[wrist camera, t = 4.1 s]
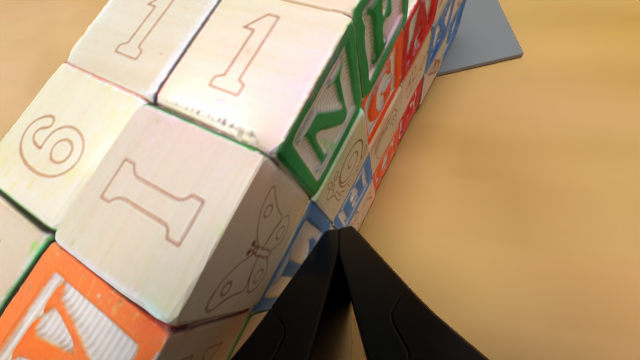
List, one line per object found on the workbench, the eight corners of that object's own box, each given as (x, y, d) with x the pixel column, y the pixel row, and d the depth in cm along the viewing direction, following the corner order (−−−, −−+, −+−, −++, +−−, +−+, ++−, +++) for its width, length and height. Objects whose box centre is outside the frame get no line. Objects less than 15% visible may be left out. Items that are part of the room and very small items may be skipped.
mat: (521, 56, 18) (523, 53, 18) (166, 138, 21) (163, 136, 21) (453, -83, 23) (454, -88, 23) (173, -1, 26) (171, -4, 26)
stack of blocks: (370, 9, 21) (353, -313, 10) (459, 30, 19) (571, -346, 8) (205, 289, 17) (-158, 307, 6) (296, 353, 15) (14, 585, 4)
